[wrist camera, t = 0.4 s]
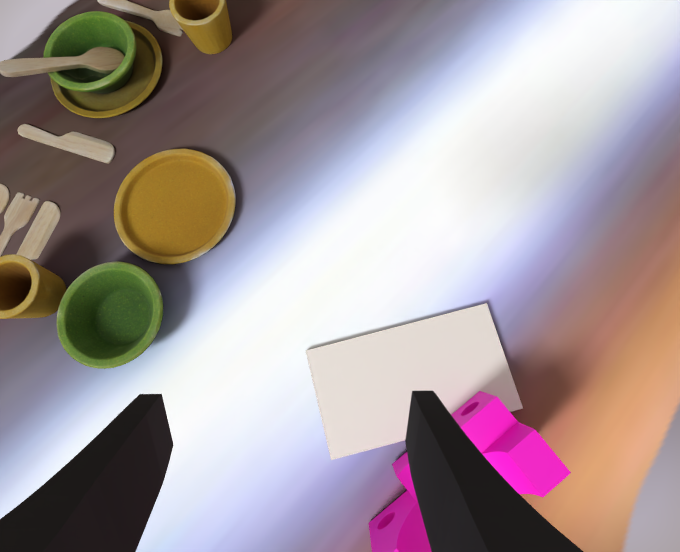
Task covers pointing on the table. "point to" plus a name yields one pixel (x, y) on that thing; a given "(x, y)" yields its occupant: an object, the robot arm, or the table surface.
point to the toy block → (497, 447)
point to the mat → (406, 376)
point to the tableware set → (135, 191)
